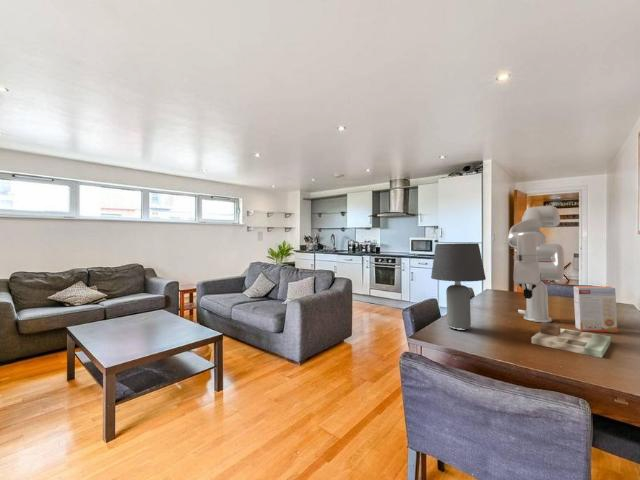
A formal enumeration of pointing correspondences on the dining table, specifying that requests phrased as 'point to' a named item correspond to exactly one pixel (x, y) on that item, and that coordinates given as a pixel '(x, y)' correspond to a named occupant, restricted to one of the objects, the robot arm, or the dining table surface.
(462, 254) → the lamp
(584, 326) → the cracker box
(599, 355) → the plate
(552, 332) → the brown block
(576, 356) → the dining table surface
